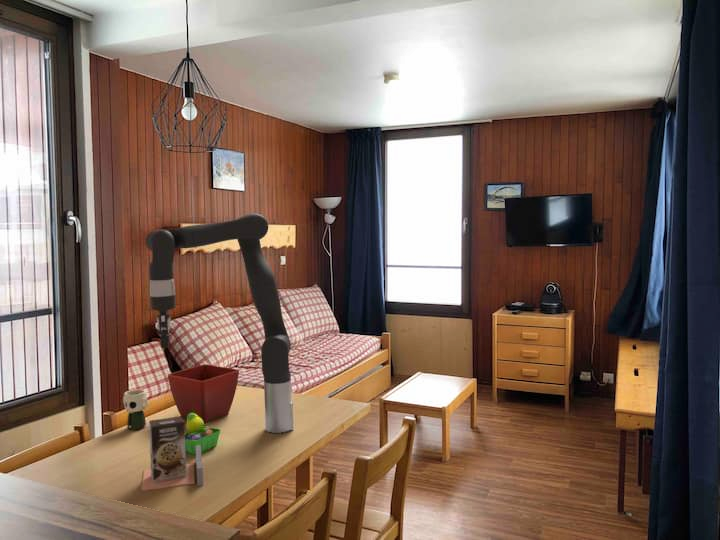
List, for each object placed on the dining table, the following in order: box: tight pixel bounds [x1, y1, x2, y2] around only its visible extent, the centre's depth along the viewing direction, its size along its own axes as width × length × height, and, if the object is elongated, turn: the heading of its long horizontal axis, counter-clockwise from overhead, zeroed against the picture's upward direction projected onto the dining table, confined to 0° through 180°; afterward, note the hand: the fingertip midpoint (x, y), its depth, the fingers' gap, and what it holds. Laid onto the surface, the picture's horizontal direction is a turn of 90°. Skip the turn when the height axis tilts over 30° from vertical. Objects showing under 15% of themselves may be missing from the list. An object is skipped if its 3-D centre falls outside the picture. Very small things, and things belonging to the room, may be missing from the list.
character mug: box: [122, 389, 149, 430], centre depth 212 cm, size 11×7×13 cm, turn 66°
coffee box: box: [148, 415, 187, 483], centre depth 169 cm, size 9×6×16 cm
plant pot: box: [167, 364, 240, 424], centre depth 223 cm, size 19×19×17 cm
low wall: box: [195, 445, 204, 487], centre depth 172 cm, size 2×18×5 cm, turn 16°
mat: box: [140, 462, 196, 492], centre depth 170 cm, size 14×14×1 cm
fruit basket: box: [185, 413, 221, 455], centre depth 191 cm, size 11×9×11 cm
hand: (165, 345), depth 187 cm, fingers open, 8 cm apart
